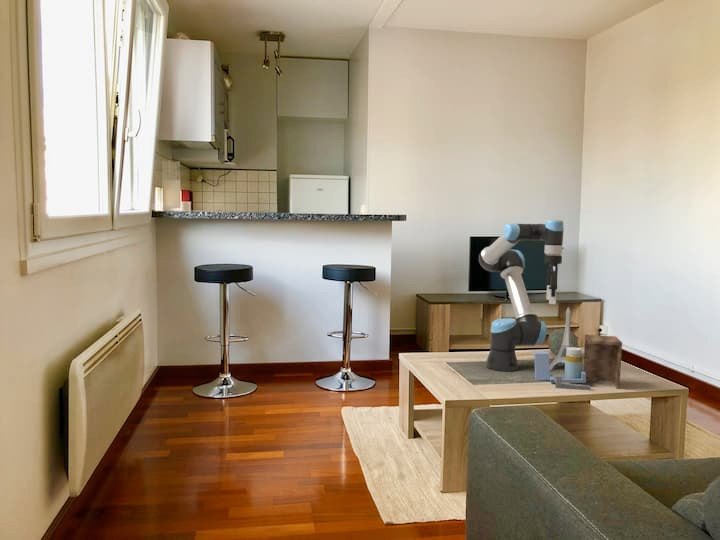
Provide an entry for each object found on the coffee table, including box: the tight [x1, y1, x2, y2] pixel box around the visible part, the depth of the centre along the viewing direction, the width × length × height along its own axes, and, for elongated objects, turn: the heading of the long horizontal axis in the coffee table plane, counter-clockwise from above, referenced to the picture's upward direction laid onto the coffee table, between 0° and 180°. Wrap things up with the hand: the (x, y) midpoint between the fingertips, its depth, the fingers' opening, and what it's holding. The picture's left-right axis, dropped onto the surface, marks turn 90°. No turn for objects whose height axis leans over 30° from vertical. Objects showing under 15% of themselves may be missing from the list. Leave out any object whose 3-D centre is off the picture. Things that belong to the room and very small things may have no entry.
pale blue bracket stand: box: [533, 351, 587, 384], centre depth 261 cm, size 20×10×12 cm, turn 78°
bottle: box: [563, 347, 583, 385], centre depth 260 cm, size 7×7×15 cm
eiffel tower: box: [549, 307, 583, 371], centre depth 282 cm, size 13×13×30 cm
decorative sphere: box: [547, 327, 579, 356], centre depth 308 cm, size 15×15×15 cm
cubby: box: [582, 334, 623, 390], centre depth 258 cm, size 13×13×20 cm
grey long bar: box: [554, 374, 591, 391], centre depth 251 cm, size 14×2×5 cm, turn 77°
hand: (550, 301), depth 265 cm, fingers open, 13 cm apart
